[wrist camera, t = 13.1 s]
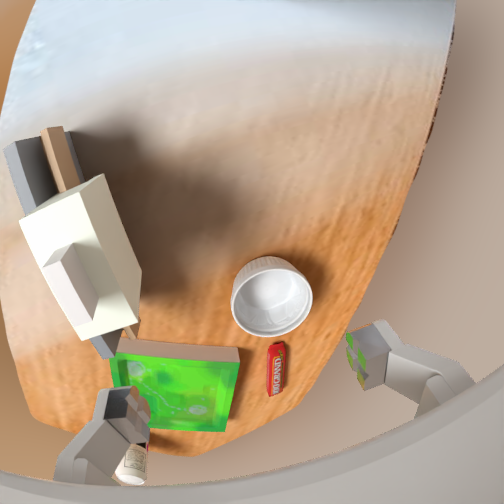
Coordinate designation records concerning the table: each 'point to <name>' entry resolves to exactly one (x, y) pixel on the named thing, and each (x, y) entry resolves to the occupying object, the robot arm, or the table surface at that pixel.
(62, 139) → the wall board
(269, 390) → the candy bar
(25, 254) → the table surface
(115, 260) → the off-white handled block
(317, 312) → the table surface
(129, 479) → the supplement can
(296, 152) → the table surface
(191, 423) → the tray
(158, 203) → the table surface
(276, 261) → the ramekin
